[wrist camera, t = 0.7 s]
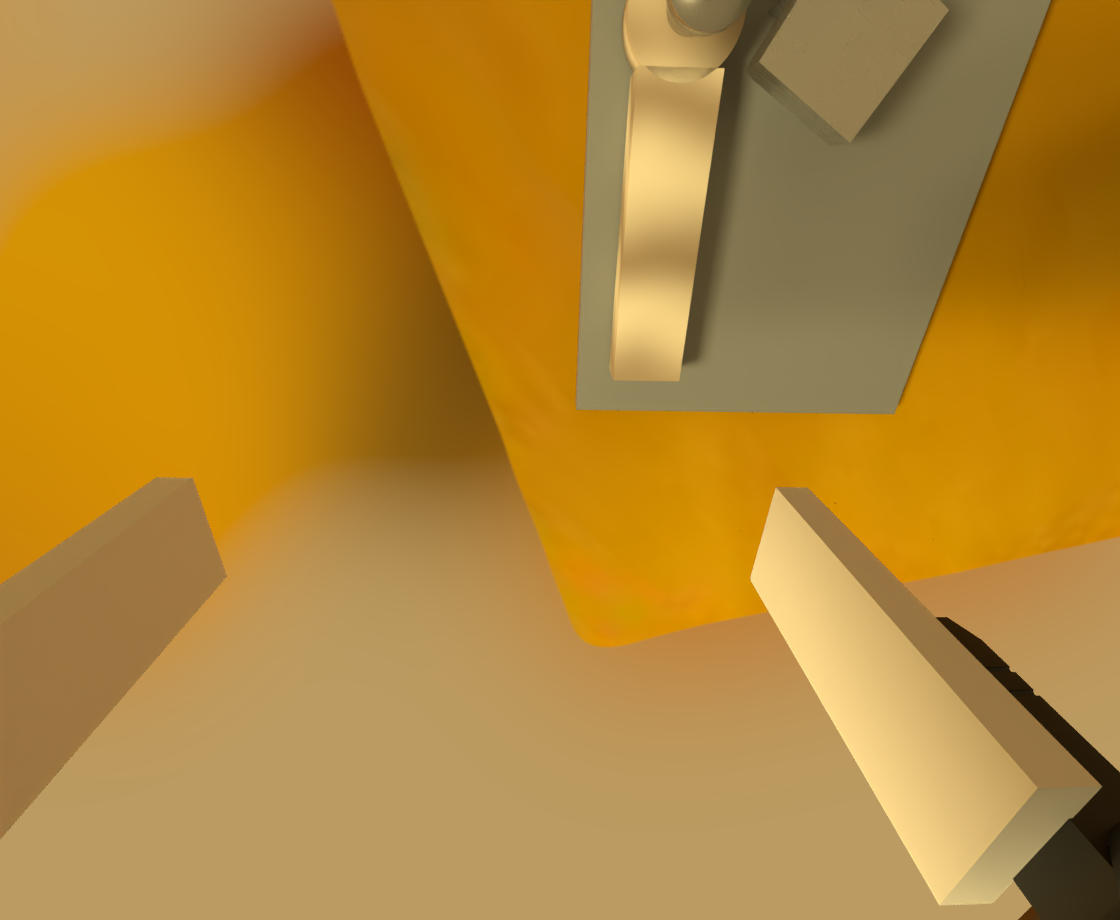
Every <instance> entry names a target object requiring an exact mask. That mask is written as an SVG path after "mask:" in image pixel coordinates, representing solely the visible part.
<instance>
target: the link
mask: <svg viewBox="0 0 1120 920" xmlns="http://www.w3.org/2000/svg"><path fill="white" fill-rule="evenodd" d="M666 6H667V2H666V0H626V3H625V6H624V11H623V16H622V28H621V35H622V44H623V49H624V53H625V56H626V60H627V62H628V64H629V66H630V68H631V70H632V71H633V74H632V75H631V77H630V87H629V101H628V115H627V129H626V142H625V156H624V170H623V184H622V198H621V212H620V225H619V239H618V253H617V267H616V281H615V295H614V308H613V322H612V336H611V350H610V364H609V369H610V372H611V375H612V378H613V380H622V381H679V379H680V372H681V365H682V358H683V351H684V344H685V338H686V331H687V324H688V317H689V310H690V303H691V296H692V289H693V282H694V276H695V269H696V262H697V255H698V248H699V241H700V234H701V227H702V220H703V214H704V207H705V200H706V193H707V186H708V179H709V172H710V165H711V159H712V152H713V145H714V138H715V131H716V124H717V117H718V110H719V103H720V97H721V90H722V83H723V76H724V69H725V68H718V67H719V66H720V65H721V64H722V63H723V62H724V60H725V59H726V58H727V57H728V55H729V54H730V53H731V51H732V50H733V48H734V46H735V44H736V42H737V40H738V38H739V36H740V33H741V31H742V28H743V24H744V21H745V16H746V11H747V9H746V10H745V11H744V12H743V14H742V15H741V16H740V17H739V18H738V19H737V20H736V21H735V22H734V23H733V24H732V25H731V26H730V27H728V28H727V29H726V30H724V31H722V32H720V33H718V34H716V35H713V36H709V37H699V36H694V35H693V36H689V37H685V36H681V35H679V34H677V33H676V32H674V31H673V29H672V28H671V26H670V25H669V22H668V19H667V14H666Z"/></svg>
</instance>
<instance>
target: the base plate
mask: <svg viewBox="0 0 1120 920" xmlns="http://www.w3.org/2000/svg"><path fill="white" fill-rule="evenodd" d="M940 1H941V2H942V3H943V4H944V5H945V6H946V7H947V8H948V9H949V11H948V12H947V14H946V15H945V16H944V18H943V19H942V20H941V22H940V23H939V24H938V26H937V27H936V28H935V30H934V31H933V32H932V34H931V35H930V36H929V38H928V39H927V40H926V42H925V43H924V44H923V46H922V47H921V48H920V50H919V51H918V53H917V54H916V55H915V57H914V58H913V59H912V61H911V62H910V63H909V65H908V66H907V67H906V69H905V70H904V71H903V73H902V74H901V75H900V77H899V78H898V79H897V81H896V82H895V83H894V85H893V86H892V87H891V89H890V90H889V91H888V93H887V94H886V95H885V97H884V98H883V99H882V101H881V102H880V104H879V105H878V106H877V108H876V109H875V110H874V112H873V113H872V114H871V116H870V117H869V118H868V120H867V121H866V122H865V124H864V125H863V126H862V128H861V129H860V130H859V132H858V133H857V134H856V136H855V137H854V138H853V140H852V141H851V142H850V143H847V144H842V145H836V146H831V147H830V146H828V145H827V144H826V143H825V142H824V141H823V140H821V139H820V138H819V137H818V136H817V135H816V134H815V133H813V132H812V131H811V130H810V129H809V128H808V127H807V126H805V125H804V124H803V123H802V122H801V121H800V120H799V119H797V118H796V117H795V116H794V115H793V114H792V113H790V112H789V111H788V110H787V109H786V108H785V107H784V106H782V105H781V104H780V103H779V102H778V101H777V100H776V99H774V98H773V97H772V96H771V95H770V94H769V93H767V92H766V91H765V90H764V89H763V88H762V87H761V86H759V85H758V84H757V83H756V82H755V81H754V80H753V79H751V78H750V77H749V76H748V75H747V74H746V73H745V72H744V71H745V69H746V67H747V66H748V64H749V63H750V61H751V59H752V58H753V56H754V55H755V53H756V51H757V50H758V48H759V46H760V45H761V43H762V42H763V40H764V38H765V37H766V35H767V34H768V32H769V30H770V29H771V27H772V26H773V24H774V22H775V21H776V20H775V19H774V18H773V17H772V16H771V15H770V14H769V13H768V11H769V10H770V8H771V6H772V5H773V3H774V2H775V0H752V1H751V3H750V4H749V6H748V7H747V11H746V16H745V21H744V24H743V28H742V31H741V33H740V36H739V38H738V40H737V42H736V44H735V46H734V48H733V50H732V51H731V53H730V54H729V55H728V57H727V58H726V59H725V60H724V62H723V63H722V64H721V65H720V66H719V67H718V68H725V69H724V76H723V83H722V90H721V97H720V103H719V110H718V117H717V124H716V131H715V138H714V145H713V152H712V159H711V165H710V172H709V179H708V186H707V193H706V200H705V207H704V214H703V220H702V227H701V234H700V241H699V248H698V255H697V262H696V269H695V276H694V282H693V289H692V296H691V303H690V310H689V317H688V324H687V331H686V338H685V344H684V351H683V358H682V365H681V372H680V379H679V381H622V380H613V378H612V375H611V372H610V369H609V364H610V350H611V336H612V322H613V308H614V295H615V281H616V267H617V253H618V239H619V225H620V212H621V198H622V184H623V170H624V156H625V142H626V129H627V115H628V101H629V87H630V77H631V75H632V74H633V71H632V70H631V68H630V66H629V64H628V62H627V60H626V56H625V53H624V49H623V44H622V35H621V28H622V16H623V11H624V6H625V3H626V0H592V4H591V30H590V55H589V80H588V105H587V130H586V156H585V181H584V206H583V231H582V256H581V282H580V307H579V332H578V357H577V382H576V410H643V411H714V412H785V413H856V414H894V413H895V411H896V408H897V405H898V403H899V400H900V397H901V395H902V392H903V389H904V387H905V384H906V382H907V379H908V376H909V374H910V371H911V368H912V366H913V363H914V360H915V358H916V355H917V353H918V350H919V347H920V345H921V342H922V339H923V337H924V334H925V331H926V329H927V326H928V324H929V321H930V318H931V316H932V313H933V310H934V308H935V305H936V302H937V300H938V297H939V295H940V292H941V289H942V287H943V284H944V281H945V279H946V276H947V273H948V271H949V268H950V266H951V263H952V260H953V258H954V255H955V252H956V250H957V247H958V244H959V242H960V239H961V237H962V234H963V231H964V229H965V226H966V223H967V221H968V218H969V215H970V213H971V210H972V208H973V205H974V202H975V200H976V197H977V194H978V192H979V189H980V186H981V184H982V181H983V179H984V176H985V173H986V171H987V168H988V165H989V163H990V160H991V157H992V155H993V152H994V150H995V147H996V144H997V142H998V139H999V136H1000V134H1001V131H1002V128H1003V126H1004V123H1005V121H1006V118H1007V115H1008V113H1009V110H1010V107H1011V105H1012V102H1013V99H1014V97H1015V94H1016V92H1017V89H1018V86H1019V84H1020V81H1021V78H1022V76H1023V73H1024V71H1025V68H1026V65H1027V63H1028V60H1029V57H1030V55H1031V52H1032V49H1033V47H1034V44H1035V42H1036V39H1037V36H1038V34H1039V31H1040V28H1041V26H1042V23H1043V20H1044V18H1045V15H1046V13H1047V10H1048V7H1049V5H1050V2H1051V0H940Z"/></svg>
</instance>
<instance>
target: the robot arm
mask: <svg viewBox="0 0 1120 920" xmlns="http://www.w3.org/2000/svg"><path fill="white" fill-rule="evenodd" d="M226 577H227V575H226V573H225V569H224V567H223V564H222V561H221V558H220V555H219V552H218V549H217V546H216V544H215V541H214V538H213V535H212V532H211V529H210V526H209V523H208V521H207V518H206V515H205V512H204V509H203V506H202V503H201V501H200V498H199V495H198V492H197V489H196V486H195V483H194V480H193V478H155V479H154V480H152V481H151V482H149V483H148V484H146V485H145V486H143V487H142V488H140V489H139V490H137V491H136V492H135V493H133V494H132V495H130V496H129V497H128V498H126V499H124V500H123V501H121V502H120V503H119V504H117V505H116V506H114V507H113V508H111V509H110V510H108V511H107V512H106V513H104V514H103V515H101V516H100V517H98V518H97V519H95V520H94V521H92V522H91V523H89V524H88V525H87V526H85V527H84V528H82V529H81V530H79V531H78V532H76V533H75V534H73V535H72V536H71V537H69V538H68V539H66V540H65V541H63V542H62V543H60V544H59V545H57V546H56V547H54V548H53V549H52V550H50V551H49V552H47V553H46V554H44V555H43V556H41V557H40V558H39V559H37V560H36V561H34V562H33V563H31V564H30V565H28V566H27V567H25V568H24V569H23V570H21V571H20V572H18V573H17V574H15V575H14V576H12V577H11V578H9V579H8V580H6V581H5V582H4V583H2V584H1V585H0V839H1V838H2V837H3V836H4V834H5V833H6V832H7V831H8V830H9V829H10V828H11V826H12V825H13V824H14V823H15V822H16V821H17V819H18V818H19V817H20V816H21V815H22V814H23V812H24V811H25V810H26V809H27V808H28V806H29V805H30V804H31V803H32V802H33V801H34V800H35V799H36V797H37V796H38V795H39V794H40V793H41V792H42V790H43V789H44V788H45V787H46V786H47V785H48V783H49V782H50V781H51V780H52V779H53V778H54V776H55V775H56V774H57V773H58V772H59V770H61V768H62V767H63V766H64V765H65V764H66V763H67V761H68V760H69V759H70V758H71V757H72V756H73V754H74V753H75V752H76V751H77V750H78V748H79V747H80V746H81V745H82V744H83V743H84V741H86V739H87V738H88V737H89V736H90V735H91V734H92V732H93V731H94V730H95V729H96V728H97V727H98V725H99V724H100V723H101V722H102V721H103V720H104V718H105V717H106V716H107V715H108V714H109V713H110V711H111V710H112V709H113V708H114V707H115V706H116V705H117V703H118V702H119V701H120V700H121V699H122V697H123V696H124V695H125V694H126V693H127V692H128V691H129V689H130V688H131V687H132V686H133V685H134V684H135V682H136V681H137V680H138V679H139V678H140V677H141V676H142V674H143V673H144V672H145V671H146V670H147V669H148V667H149V666H150V665H151V664H152V663H153V662H154V660H155V659H156V658H157V657H158V656H159V655H160V653H161V652H162V651H163V650H164V649H165V648H166V646H167V645H168V644H169V643H170V642H171V641H172V639H173V638H174V637H175V636H176V635H177V634H178V633H179V631H180V630H181V629H182V628H183V627H184V626H185V624H186V623H187V622H188V621H189V620H190V619H191V617H192V616H193V615H194V614H195V613H196V612H197V611H198V609H199V608H200V607H201V606H202V605H203V604H204V602H205V601H206V600H207V599H208V598H209V597H210V595H211V594H212V593H213V592H214V591H215V590H216V589H217V587H218V586H219V585H220V584H221V583H222V582H223V580H224V579H225V578H226ZM750 580H751V582H752V583H753V585H754V587H755V589H756V590H757V592H758V594H759V595H760V597H761V599H762V601H763V602H764V604H765V606H766V607H767V609H768V611H769V613H770V614H771V616H772V618H773V620H774V621H775V623H776V624H777V626H778V628H779V630H780V632H781V633H782V635H783V637H784V638H785V640H786V642H787V643H788V645H789V647H790V649H791V650H792V652H793V654H794V656H795V657H796V659H797V661H798V663H799V664H800V666H801V668H802V669H803V671H804V673H805V675H806V676H807V678H808V680H809V682H810V683H811V685H812V687H813V688H814V690H815V692H816V693H817V695H818V697H819V699H820V700H821V702H822V704H823V705H824V707H825V709H826V711H827V712H828V714H829V716H830V718H831V719H832V721H833V723H834V724H835V726H836V728H837V730H838V731H839V733H840V735H841V737H842V738H843V740H844V742H845V743H846V745H847V747H848V749H849V750H850V752H851V754H852V756H853V757H854V759H855V761H856V762H857V764H858V766H859V768H860V769H861V771H862V773H863V774H864V776H865V778H866V780H867V781H868V783H869V785H870V786H871V788H872V790H873V792H874V793H875V795H876V797H877V799H878V800H879V802H880V804H881V805H882V807H883V809H884V811H885V812H886V814H887V816H888V818H889V819H890V821H891V822H892V824H893V826H894V828H895V829H896V831H897V833H898V835H899V836H900V838H901V840H902V842H903V843H904V845H905V846H906V848H907V850H908V852H909V854H910V855H911V857H912V859H913V860H914V862H915V864H916V866H917V867H918V869H919V871H920V872H921V874H922V876H923V877H924V879H925V881H926V883H927V885H928V886H929V888H930V890H931V891H932V893H933V895H934V897H935V898H936V900H937V902H938V904H939V905H959V904H960V905H961V904H992V903H993V902H994V901H995V900H996V899H997V898H998V897H999V896H1000V895H1001V894H1002V893H1003V892H1004V891H1005V890H1006V889H1007V887H1008V886H1009V885H1010V884H1011V883H1012V882H1013V881H1014V882H1015V883H1016V884H1017V886H1018V887H1019V889H1020V890H1021V891H1022V893H1023V894H1024V896H1025V897H1026V898H1027V900H1028V901H1029V903H1030V904H1031V905H1032V907H1031V908H1030V909H1029V910H1028V911H1027V912H1026V913H1024V914H1023V916H1022V917H1021V918H1019V919H1018V920H1120V772H1119V771H1118V770H1117V769H1116V768H1114V767H1113V765H1111V764H1110V763H1109V762H1108V761H1107V760H1106V759H1105V758H1104V757H1103V756H1102V755H1101V754H1100V753H1099V752H1098V751H1097V750H1096V749H1095V748H1094V747H1093V746H1092V745H1091V744H1090V743H1089V742H1087V741H1086V740H1085V739H1084V738H1083V737H1082V736H1081V735H1080V734H1079V733H1078V732H1077V731H1076V730H1075V729H1074V728H1073V727H1072V726H1071V725H1070V724H1069V723H1067V721H1066V720H1065V719H1063V718H1062V717H1061V716H1060V715H1059V714H1058V713H1057V712H1056V711H1055V710H1054V709H1053V708H1052V707H1051V706H1050V705H1049V704H1048V703H1047V702H1046V701H1045V700H1044V699H1043V698H1042V697H1041V696H1036V695H1034V693H1033V689H1032V688H1031V687H1030V686H1029V685H1028V684H1027V683H1026V682H1025V681H1024V680H1023V679H1022V678H1021V677H1020V676H1019V675H1018V674H1017V673H1015V672H1011V671H1010V669H1009V666H1008V665H1007V664H1006V663H1005V662H1004V661H1003V660H1002V659H1001V658H1000V657H999V656H998V655H997V654H995V652H993V650H991V649H990V648H989V647H988V646H987V645H986V644H985V643H984V642H983V641H982V640H981V639H979V638H977V637H976V636H974V635H973V634H972V633H970V632H969V631H967V630H966V629H964V628H963V627H961V626H960V625H958V624H956V623H955V622H953V621H952V620H950V619H949V618H947V617H934V616H933V614H932V613H931V612H930V611H929V610H928V609H927V608H926V607H925V606H924V605H923V604H921V602H920V601H919V600H918V599H917V598H916V597H915V596H914V595H913V594H912V593H911V592H910V591H909V590H908V589H907V588H906V587H905V586H904V585H903V584H902V583H901V582H900V581H899V580H898V579H897V578H896V577H895V576H894V575H893V574H892V573H891V572H890V571H889V570H888V569H887V568H886V567H885V566H884V565H883V564H882V563H881V562H880V561H879V560H878V559H877V558H876V557H875V556H874V555H873V554H872V553H871V552H870V551H869V550H868V549H867V547H866V546H865V545H864V544H863V543H862V542H861V541H860V540H859V539H858V538H857V537H856V536H855V535H854V534H853V533H852V532H851V531H850V530H849V529H848V528H847V527H846V526H845V525H844V524H843V523H842V522H841V521H840V520H839V519H838V518H837V517H836V516H835V515H834V514H833V513H832V512H831V511H830V510H829V509H828V508H827V507H826V506H825V505H824V504H823V503H822V502H821V501H820V500H819V499H818V498H817V497H816V496H815V495H814V494H813V493H812V492H811V491H810V490H809V489H808V488H787V487H776V489H775V492H774V496H773V499H772V503H771V506H770V510H769V514H768V517H767V521H766V524H765V528H764V531H763V535H762V539H761V542H760V546H759V549H758V553H757V556H756V560H755V563H754V567H753V571H752V574H751V578H750Z"/></svg>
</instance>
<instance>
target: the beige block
mask: <svg viewBox="0 0 1120 920" xmlns="http://www.w3.org/2000/svg"><path fill="white" fill-rule="evenodd" d="M751 1H752V0H666V2H667V6H666V14H667V19H668V22H669V25H670V26H671V28H672V29H673V31H674V32H676V33H677V34H679V35H681V36H685V37H689V36H693V35H694V36H699V37H709V36H713V35H716V34H718V33H720V32H722V31H724V30H726V29H727V28H728V27H730V26H731V25H732V24H733V23H734V22H735V21H736V20H737V19H738V18H739V17H740V16H741V15H742V14H743V12H744V11H745V10H746V9H747V7H748V6H749V4H750V3H751ZM948 11H949V9H948V8H947V7H946V6H945V5H944V4H943V3H942V2H941V1H940V0H775V2H774V3H773V5H772V6H771V8H770V10H769V11H768V13H769V14H770V15H771V16H772V17H773V18H774V19H775V20H776V21H775V22H774V24H773V26H772V27H771V29H770V30H769V32H768V34H767V35H766V37H765V38H764V40H763V42H762V43H761V45H760V46H759V48H758V50H757V51H756V53H755V55H754V56H753V58H752V59H751V61H750V63H749V64H748V66H747V67H746V69H745V71H744V72H745V73H746V74H747V75H748V76H749V77H750V78H751V79H753V80H754V81H755V82H756V83H757V84H758V85H759V86H761V87H762V88H763V89H764V90H765V91H766V92H767V93H769V94H770V95H771V96H772V97H773V98H774V99H776V100H777V101H778V102H779V103H780V104H781V105H782V106H784V107H785V108H786V109H787V110H788V111H789V112H790V113H792V114H793V115H794V116H795V117H796V118H797V119H799V120H800V121H801V122H802V123H803V124H804V125H805V126H807V127H808V128H809V129H810V130H811V131H812V132H813V133H815V134H816V135H817V136H818V137H819V138H820V139H821V140H823V141H824V142H825V143H826V144H827V145H828V146H830V147H831V146H836V145H842V144H847V143H850V142H851V141H852V140H853V138H854V137H855V136H856V134H857V133H858V132H859V130H860V129H861V128H862V126H863V125H864V124H865V122H866V121H867V120H868V118H869V117H870V116H871V114H872V113H873V112H874V110H875V109H876V108H877V106H878V105H879V104H880V102H881V101H882V99H883V98H884V97H885V95H886V94H887V93H888V91H889V90H890V89H891V87H892V86H893V85H894V83H895V82H896V81H897V79H898V78H899V77H900V75H901V74H902V73H903V71H904V70H905V69H906V67H907V66H908V65H909V63H910V62H911V61H912V59H913V58H914V57H915V55H916V54H917V53H918V51H919V50H920V48H921V47H922V46H923V44H924V43H925V42H926V40H927V39H928V38H929V36H930V35H931V34H932V32H933V31H934V30H935V28H936V27H937V26H938V24H939V23H940V22H941V20H942V19H943V18H944V16H945V15H946V14H947V12H948Z"/></svg>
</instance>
